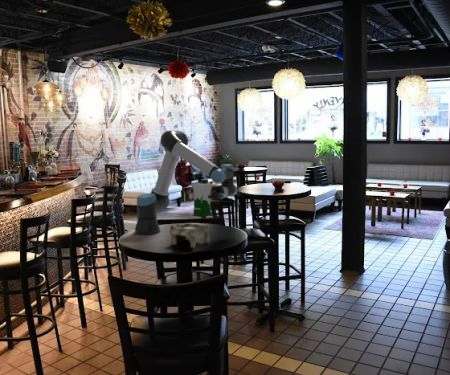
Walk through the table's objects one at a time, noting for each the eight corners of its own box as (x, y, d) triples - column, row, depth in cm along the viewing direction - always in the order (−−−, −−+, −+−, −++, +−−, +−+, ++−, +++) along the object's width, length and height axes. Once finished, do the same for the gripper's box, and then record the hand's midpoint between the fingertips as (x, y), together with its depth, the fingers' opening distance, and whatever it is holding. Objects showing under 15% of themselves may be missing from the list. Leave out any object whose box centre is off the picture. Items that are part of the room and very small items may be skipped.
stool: (170, 244, 251) (169, 227, 250) (187, 238, 265) (187, 222, 264) (193, 248, 243) (193, 230, 242) (210, 241, 256) (210, 225, 255)
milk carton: (213, 215, 256) (213, 179, 254) (202, 217, 249) (202, 181, 247) (201, 213, 262) (201, 178, 259) (190, 215, 255) (190, 179, 252)
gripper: (234, 199, 264) (213, 205, 245) (203, 197, 275) (181, 202, 256) (234, 186, 263) (213, 191, 244) (203, 184, 274) (181, 188, 255)
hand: (197, 196), depth 250 cm, fingers closed on milk carton, 9 cm apart
